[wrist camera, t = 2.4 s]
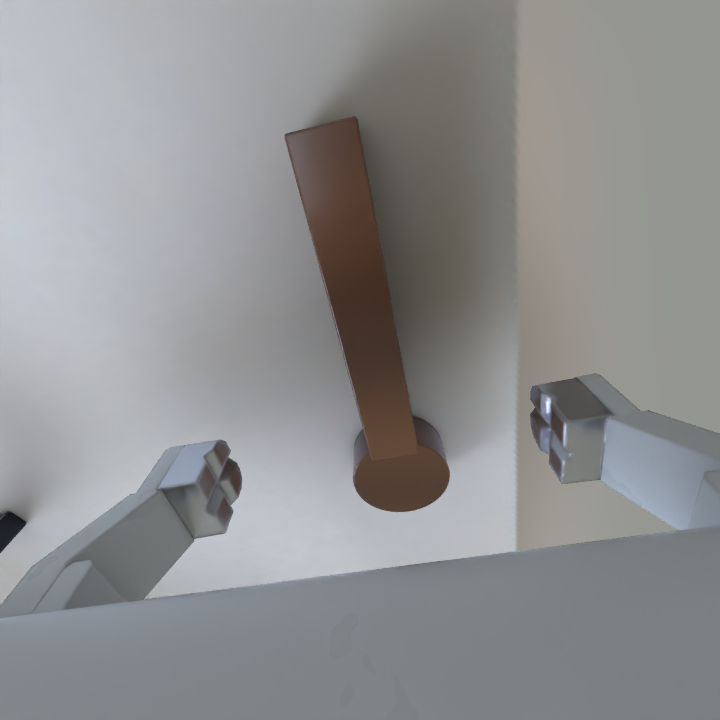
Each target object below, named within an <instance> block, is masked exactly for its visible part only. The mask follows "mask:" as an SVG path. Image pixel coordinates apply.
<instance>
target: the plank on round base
mask: <svg viewBox="0 0 720 720" xmlns="http://www.w3.org/2000/svg"><path fill="white" fill-rule="evenodd" d="M285 141H286V144H287V148H288V152H289V156H290V159H291V163H292V167H293V170H294V174H295V178H296V182H297V185H298V189H299V193H300V196H301V200H302V204H303V207H304V211H305V215H306V219H307V222H308V226H309V230H310V233H311V237H312V241H313V244H314V248H315V252H316V256H317V259H318V263H319V267H320V270H321V274H322V278H323V282H324V285H325V289H326V293H327V296H328V300H329V304H330V307H331V311H332V315H333V319H334V322H335V326H336V330H337V333H338V337H339V341H340V345H341V348H342V352H343V356H344V359H345V363H346V367H347V370H348V374H349V378H350V382H351V385H352V389H353V393H354V396H355V400H356V404H357V407H358V411H359V415H360V419H361V422H362V426H363V430H362V431H361V433H360V434H359V435H358V437H357V439H356V442H355V445H354V469H353V482H354V486H355V489H356V491H357V493H358V494H359V496H360V497H361V498H362V499H363V500H364V501H365V502H367V503H368V504H370V505H372V506H374V507H376V508H378V509H382V510H385V511H391V512H407V511H413V510H417V509H420V508H423V507H425V506H427V505H429V504H431V503H433V502H434V501H436V500H437V499H438V498H439V497H440V496H441V495H442V494H443V493H444V491H445V490H446V488H447V486H448V483H449V478H450V472H449V467H448V464H447V460H446V457H445V453H444V449H443V446H442V442H441V439H440V436H439V434H438V433H437V431H436V430H435V429H434V428H433V427H432V426H431V425H430V424H428V423H427V422H425V421H423V420H421V419H419V418H416V417H412V413H411V407H410V402H409V396H408V391H407V386H406V380H405V375H404V369H403V364H402V358H401V353H400V348H399V342H398V337H397V331H396V326H395V320H394V315H393V310H392V304H391V299H390V293H389V288H388V283H387V277H386V272H385V266H384V261H383V255H382V250H381V245H380V239H379V234H378V228H377V223H376V217H375V212H374V207H373V201H372V196H371V190H370V185H369V180H368V174H367V169H366V163H365V158H364V152H363V147H362V142H361V136H360V131H359V125H358V120H357V117H355V116H352V117H349V118H345V119H341V120H337V121H333V122H329V123H325V124H321V125H318V126H314V127H310V128H306V129H302V130H298V131H294V132H290V133H287V134H285Z"/></svg>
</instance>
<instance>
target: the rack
mask: <svg viewBox="0 0 720 720" xmlns="http://www.w3.org/2000/svg"><path fill="white" fill-rule="evenodd" d="M25 525H26V523H25V522H24V521H22V520H21V519H19V518H17V517H16V516H14V515H13V514H11V513H10V512H8V513H6V514H4V515H2V516H0V553H1V552H2V551H3V550H4V548H5V547H6V546H7V545H8V544H9V543H10V542H11V541H12V540H13V538H14V537H15V536H16V535H17V534H18V533H19V532H20V531H21V530H22V529H23V527H24V526H25Z"/></svg>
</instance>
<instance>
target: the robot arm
mask: <svg viewBox="0 0 720 720" xmlns="http://www.w3.org/2000/svg"><path fill="white" fill-rule="evenodd" d="M530 400H531V401H532V403H533V404H534V406H535V409H534V410H533V411H532V413H531V414H530V420H531V428H532V433H533V436H534V439H535V441H536V443H537V445H538V447H539V448H540V450H541V451H543V452H545V453H547V454H549V465H550V466H551V468H552V469H553V471H554V473H555V474H556V476H557V477H558V479H559V480H560V482H561V484H568V483H577V482H584V481H592V480H601V482H602V483H604V484H605V485H607V486H609V487H610V488H612V489H613V490H615V491H617V492H618V493H620V494H621V495H623V496H624V497H626V498H628V499H629V500H631V501H632V502H634V503H636V504H637V505H639V506H640V507H642V508H643V509H645V510H647V511H648V512H650V513H651V514H653V515H655V516H656V517H658V518H659V519H661V520H663V521H664V522H666V523H667V524H669V525H670V526H672V527H674V528H675V529H677V531H671V532H662V533H655V534H647V535H639V536H631V537H623V538H616V539H608V540H600V541H593V542H585V543H577V544H569V545H562V546H554V547H547V548H538V549H531V550H523V551H515V552H507V553H499V554H492V555H484V556H476V557H468V558H461V559H453V560H445V561H437V562H430V563H422V564H414V565H406V566H399V567H391V568H383V569H376V570H368V571H360V572H352V573H345V574H337V575H329V576H321V577H314V578H306V579H298V580H291V581H283V582H275V583H267V584H260V585H252V586H244V587H236V588H229V589H221V590H213V591H206V592H198V593H190V594H182V595H175V596H167V597H159V598H152V599H144V598H145V597H146V596H147V594H148V593H149V592H150V591H151V590H152V589H153V588H154V586H155V585H156V584H157V583H158V582H159V581H160V579H161V578H162V577H163V576H164V575H165V574H166V573H167V571H168V570H169V569H170V568H171V567H172V566H173V565H174V563H175V562H176V561H177V560H178V559H179V558H180V557H181V555H182V554H183V553H184V552H185V551H186V550H187V548H188V547H189V546H190V545H191V544H192V543H193V542H194V539H196V538H201V537H207V536H213V535H218V534H224V533H226V530H227V527H228V525H229V522H230V519H231V517H232V514H233V509H232V507H231V504H232V503H233V502H234V501H235V500H236V499H237V498H238V497H239V494H240V491H241V488H242V476H241V472H240V468H239V466H238V464H237V463H236V462H235V461H233V460H232V459H230V458H228V457H229V454H230V451H231V450H230V448H229V447H228V445H227V443H226V441H223V440H215V441H208V442H202V443H195V444H188V445H183V446H177V447H171V448H169V449H167V450H165V452H164V453H163V454H162V456H161V457H160V459H159V460H158V462H157V463H156V465H155V466H154V468H153V469H152V471H151V472H150V474H149V475H148V476H147V478H146V479H145V481H144V482H143V484H142V485H141V487H140V488H139V490H138V491H137V493H135V494H130V495H129V496H127V497H126V498H125V499H123V500H122V501H121V502H119V503H118V504H117V505H115V506H114V507H112V508H111V509H110V510H108V511H107V512H106V513H104V514H103V515H102V516H100V517H99V518H97V519H96V520H95V521H93V522H92V523H91V524H89V525H88V526H87V527H85V528H84V529H82V530H81V531H80V532H78V533H77V534H76V535H74V536H73V537H72V538H70V539H69V540H67V541H66V542H65V543H63V544H62V545H61V546H59V547H58V548H57V549H55V550H54V551H52V552H51V553H50V554H48V555H47V556H46V557H44V558H43V559H42V560H40V561H39V562H37V563H36V564H35V565H33V566H32V567H31V568H30V569H29V571H28V572H27V573H26V574H25V576H24V577H23V578H22V579H21V581H20V582H19V583H18V584H17V586H16V587H15V588H14V589H13V590H12V592H11V593H10V594H9V595H8V597H7V598H6V599H5V600H4V602H3V603H2V604H1V605H0V720H720V434H719V433H716V432H713V431H710V430H707V429H704V428H700V427H697V426H694V425H691V424H688V423H685V422H682V421H679V420H676V419H673V418H670V417H667V416H664V415H661V414H658V413H655V412H652V411H649V410H648V411H642V412H641V411H640V410H639V409H638V408H637V407H636V406H635V405H633V404H632V403H631V402H630V401H629V400H628V399H627V398H626V397H624V396H623V395H622V394H621V393H620V392H619V391H618V390H616V389H615V388H614V387H613V386H612V385H611V384H610V383H609V382H608V381H606V380H605V379H604V378H603V377H602V376H601V375H598V374H590V375H585V376H580V377H575V378H574V379H568V380H562V381H557V382H552V383H546V384H540V385H535V386H532V388H531V391H530ZM143 599H144V600H143Z"/></svg>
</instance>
